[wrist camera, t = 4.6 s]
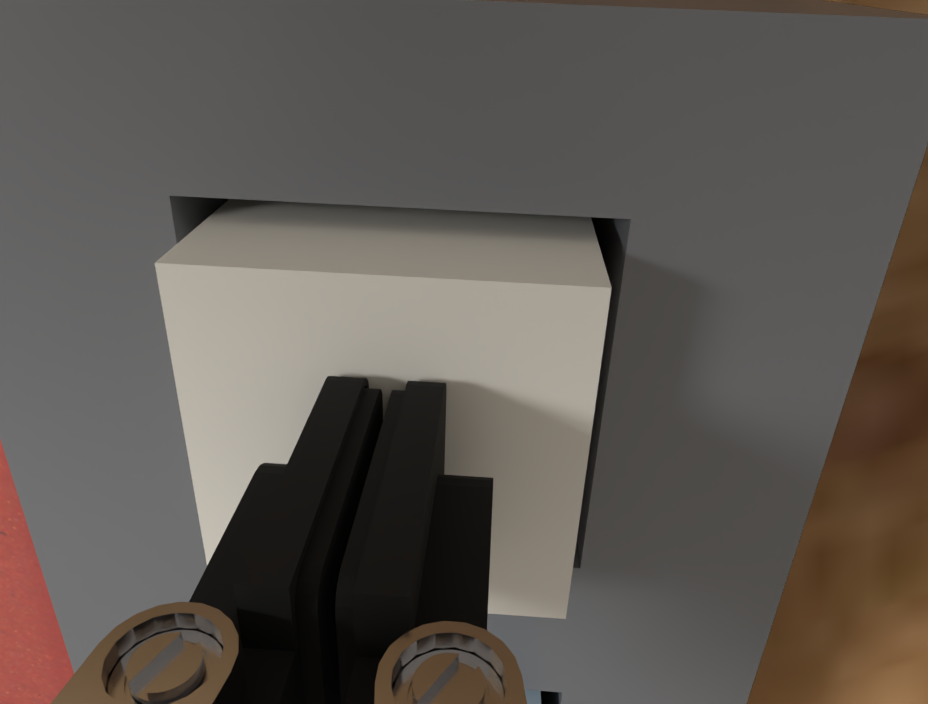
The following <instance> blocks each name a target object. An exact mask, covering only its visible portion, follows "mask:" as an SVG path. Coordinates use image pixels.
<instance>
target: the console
mask: <svg viewBox="0 0 928 704" xmlns="http://www.w3.org/2000/svg"><path fill="white" fill-rule="evenodd" d="M927 145H928V15H925V14H918V13H911V12H904V11H896V10H889V9H882V8H875V7H868V6H861V5H854V4H847V3H839V2H832V1H825V0H0V440H1V443H2V446H3V449H4V453H5V456H6V459H7V462H8V465H9V468H10V472H11V475H12V478H13V481H14V484H15V487H16V491H17V494H18V497H19V500H20V503H21V506H22V510H23V513H24V516H25V519H26V522H27V525H28V529H29V532H30V535H31V538H32V541H33V545H34V548H35V551H36V554H37V557H38V560H39V564H40V567H41V570H42V573H43V576H44V579H45V583H46V586H47V589H48V592H49V595H50V598H51V602H52V605H53V608H54V611H55V614H56V617H57V621H58V624H59V627H60V630H61V633H62V636H63V640H64V643H65V646H66V649H67V652H68V656H69V659H70V662H71V665H72V668H73V671H74V674H75V672H76V671H77V670H78V669H79V667H80V666H81V665H82V664H83V662H84V661H85V660H86V659H87V657H88V656H89V655H90V654H91V652H92V651H93V650H94V649H95V647H96V646H97V645H98V644H99V643H100V642H101V641H102V640H103V639H104V638H105V637H106V636H107V635H108V634H109V633H110V632H111V631H112V630H113V629H114V628H115V627H116V626H118V625H119V624H121V623H122V622H124V621H125V620H127V619H129V618H130V617H132V616H133V615H135V614H137V613H139V612H142V611H145V610H147V609H150V608H153V607H155V606H158V605H163V604H169V603H175V602H189V601H190V599H191V597H192V595H193V593H194V591H195V589H196V587H197V585H198V583H199V581H200V579H201V577H202V575H203V573H204V571H205V569H206V567H207V563H206V557H205V551H204V545H203V540H202V534H201V528H200V522H199V517H198V511H197V505H196V499H195V493H194V488H193V482H192V476H191V470H190V465H189V459H188V453H187V447H186V442H185V436H184V430H183V424H182V418H181V413H180V407H179V401H178V395H177V390H176V384H175V378H174V372H173V367H172V361H171V355H170V349H169V343H168V338H167V332H166V326H165V320H164V315H163V309H162V303H161V297H160V291H159V286H158V280H157V274H156V268H155V262H156V261H157V260H159V259H160V258H161V257H162V256H163V255H164V254H166V253H167V252H168V251H169V250H170V249H172V248H173V247H174V246H175V245H176V244H177V243H179V242H180V241H181V240H182V239H183V238H184V237H186V236H187V235H188V234H189V233H190V232H191V231H193V230H194V229H195V228H196V227H197V226H199V225H200V224H201V223H202V222H203V221H204V220H206V219H207V218H208V217H209V216H210V215H211V214H213V213H214V212H215V211H216V210H217V209H218V208H220V207H221V206H222V205H223V204H224V203H226V202H227V201H228V200H229V199H244V200H263V201H283V202H303V203H322V204H342V205H361V206H381V207H401V208H420V209H440V210H459V211H479V212H499V213H518V214H538V215H557V216H577V217H591V220H592V223H593V226H594V230H595V233H596V237H597V240H598V243H599V247H600V250H601V253H602V257H603V260H604V264H605V267H606V270H607V274H608V277H609V281H610V284H611V287H612V289H611V296H610V303H609V310H608V318H607V325H606V332H605V339H604V347H603V354H602V361H601V368H600V376H599V383H598V390H597V397H596V404H595V412H594V419H593V426H592V433H591V441H590V448H589V455H588V462H587V469H586V477H585V484H584V491H583V498H582V506H581V513H580V520H579V527H578V534H577V542H576V549H575V556H574V563H573V571H572V578H571V585H570V592H569V600H568V607H567V614H566V619H559V618H545V617H530V616H516V615H502V614H488V617H487V631H489V632H490V633H491V634H493V635H494V636H496V637H497V638H499V639H500V640H502V641H503V642H504V644H505V645H506V646H507V647H508V648H509V650H510V651H511V652H512V653H513V655H514V656H515V658H516V660H517V663H518V666H519V669H520V671H521V674H522V678H523V684H524V689H525V690H536V691H541V704H747V701H748V698H749V695H750V692H751V688H752V685H753V682H754V679H755V676H756V673H757V670H758V667H759V664H760V661H761V658H762V654H763V651H764V648H765V645H766V642H767V639H768V636H769V633H770V630H771V627H772V624H773V621H774V617H775V614H776V611H777V608H778V605H779V602H780V599H781V596H782V593H783V590H784V587H785V584H786V580H787V577H788V574H789V571H790V568H791V565H792V562H793V559H794V556H795V553H796V550H797V546H798V543H799V540H800V537H801V534H802V531H803V528H804V525H805V522H806V519H807V516H808V513H809V509H810V506H811V503H812V500H813V497H814V494H815V491H816V488H817V485H818V482H819V479H820V475H821V472H822V469H823V466H824V463H825V460H826V457H827V454H828V451H829V448H830V445H831V442H832V438H833V435H834V432H835V429H836V426H837V423H838V420H839V417H840V414H841V411H842V408H843V405H844V401H845V398H846V395H847V392H848V389H849V386H850V383H851V380H852V377H853V374H854V371H855V367H856V364H857V361H858V358H859V355H860V352H861V349H862V346H863V343H864V340H865V337H866V334H867V330H868V327H869V324H870V321H871V318H872V315H873V312H874V309H875V306H876V303H877V300H878V296H879V293H880V290H881V287H882V284H883V281H884V278H885V275H886V272H887V269H888V266H889V263H890V259H891V256H892V253H893V250H894V247H895V244H896V241H897V238H898V235H899V232H900V229H901V226H902V222H903V219H904V216H905V213H906V210H907V207H908V204H909V201H910V198H911V195H912V192H913V188H914V185H915V182H916V179H917V176H918V173H919V170H920V167H921V164H922V161H923V158H924V155H925V151H926V148H927Z"/></svg>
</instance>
